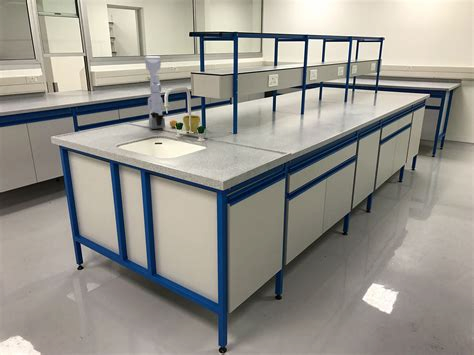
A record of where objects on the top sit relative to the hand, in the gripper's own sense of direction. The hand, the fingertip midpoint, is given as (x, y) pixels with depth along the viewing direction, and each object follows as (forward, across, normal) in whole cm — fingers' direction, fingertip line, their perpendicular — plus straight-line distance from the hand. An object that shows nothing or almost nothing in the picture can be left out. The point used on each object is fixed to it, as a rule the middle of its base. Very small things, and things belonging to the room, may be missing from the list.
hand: (157, 124), depth 241 cm
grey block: (+2, 0, 0) cm, 2 cm away
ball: (0, 0, +11) cm, 11 cm away
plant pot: (+3, +20, +15) cm, 25 cm away
